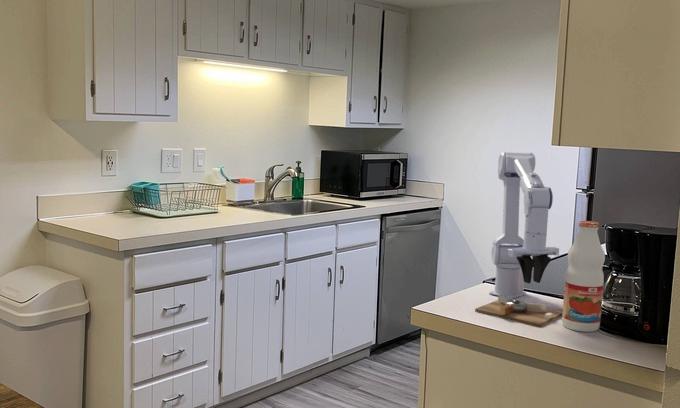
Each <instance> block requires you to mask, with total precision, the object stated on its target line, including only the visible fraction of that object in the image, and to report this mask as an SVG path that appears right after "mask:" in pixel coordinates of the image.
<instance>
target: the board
mask: <svg viewBox="0 0 680 408" xmlns="http://www.w3.org/2000/svg"><path fill="white" fill-rule="evenodd" d="M502 306H505V304H503V303H501V302H499V301H498V299H497V300H494V301H492V302H489V303H486V304H484V305H481V306H479V307H476V308H475V309H474V310H475V312H477V313H480V314H484V315H488V316H492V317H497V318H500V319H505V320H508V321H513V322H517V323H521V324H525V325H528V326H533V327H537V328H541V327H542V326H544V325H547V324H549V323H551V322H553V321H554V320H557V319H559V318H561V317H562V314H563V311H562V312H561V311H556V310H553V309H547V308H546V312H542V311H530V310H527V311H526V312H524V313H515V312H510V313H508V314H505V315H503V314H500V307H502ZM547 313H552V314H553V317H552V318H550V319H547V318H545V314H547Z"/></svg>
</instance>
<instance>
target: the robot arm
mask: <svg viewBox="0 0 680 408" xmlns="http://www.w3.org/2000/svg"><path fill="white" fill-rule="evenodd" d="M497 164H498V165H497V169H498V170H497V177H498V179H499V180H501V181H502V183H503V206H502V207H503V209H502V212H503V213H502V233H501V234H499V236H497V237H496V238H495V239H494V240H493V242H492V248H491V262H492V263H493V265H494V266H495V267H496V268H495V282H494V290H492V291H490V292H488V294H489V295H493V296H497V297H498V295H504V296H506V297H509V298H511V299H513V300H515V299H516V298H518V297H521V296H523V295H525V294H526V295H527V292H526V291H524V289H525V288H524V287H525V285H524V284H525V283H527V284H531V281H533V282H534V283H538V284H541V281H542V277H543V275H544V272H545V270H546V269H547V266H549V264H550V263H551V261H552V260H551V259H552V257H551V256H560V248H559V247H556V246H547V233H548V222H549V221H548V220H549V210H551V208H552V207H553V199H554V196H553V194H554V193H553V190H552V188H551V187H548V186H545V184H544V183H543V180H542V179H541V177H540V176H539V174H537V173H536V172H534V171H535V169H536V156H535V154H534V153H533V152H506V151H502V152H501V153H500V154H499V157H498V161H497ZM520 191H522V194H523V207H524V209H523V210H524V211H523V212H524V215H525V219H524V220H525V221H524V222H525V223H524V232H523V233H524V235H523V238H522V237H521V236H520V235H519V225H520V224H519V222H520V198H521V197H520V196H521V195H520ZM532 272H533V274H532ZM532 279H533V280H532Z"/></svg>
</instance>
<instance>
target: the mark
mask: <svg viewBox="0 0 680 408" xmlns="http://www.w3.org/2000/svg"><path fill="white" fill-rule="evenodd" d="M552 317H553V314H552V313H547V314H545V318H547V319H550V318H552Z"/></svg>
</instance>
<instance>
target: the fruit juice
mask: <svg viewBox="0 0 680 408" xmlns="http://www.w3.org/2000/svg"><path fill="white" fill-rule="evenodd" d="M578 228H579V230H578V233H577V235H576V238H575V240H574V242H573V244H571V246H570V247H569V249H568V250H567V260H568V267H567V269H566V271H565V277H564V290H563V303H562V313H563V314H562V316H561V317H562V318H561V325H562V326H563V327H564V328H566V329H568V330H572V331H577V332H583V333H592V332H596V331H598V330H599V329H600V325H601V318H602V317H601V316H602V305H603V292H604V283H605V281H604V276H605V275H604V271H603V266H604V263H605V260H606V253H605V250H604V249H603V247H602V245H601V242H600V237H599V233H598V230H599V228H600V223H599V222H597V221H593V220H591V221H590V220H580V221H579V222H578Z"/></svg>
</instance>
